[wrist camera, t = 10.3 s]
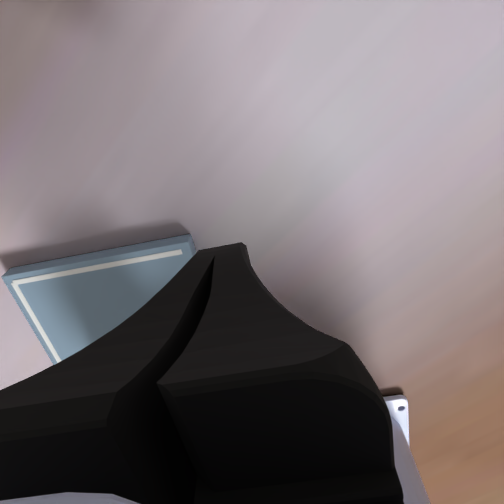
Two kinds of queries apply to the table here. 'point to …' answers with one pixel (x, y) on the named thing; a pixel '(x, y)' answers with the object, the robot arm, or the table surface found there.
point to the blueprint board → (93, 290)
